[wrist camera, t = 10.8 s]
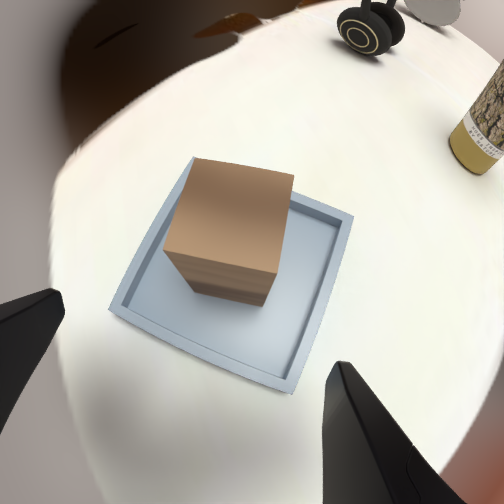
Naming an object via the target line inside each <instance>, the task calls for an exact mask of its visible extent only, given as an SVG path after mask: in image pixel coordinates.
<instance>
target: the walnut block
mask: <svg viewBox="0 0 504 504" xmlns="http://www.w3.org/2000/svg"><path fill="white" fill-rule="evenodd" d="M293 180H294V175H292V174H287V173H282V172H277V171H272V170H267V169H261V168H256V167H250V166H244V165H239V164H233V163H226V162H220V161H214V160H207V159H200V158H195V159H194V161H193V164H192V166H191V169H190V172H189V174H188V177H187V180H186V182H185V185H184V188H183V190H182V193H181V196H180V199H179V202H178V205H177V207H176V210H175V213H174V216H173V219H172V222H171V225H170V228H169V231H168V234H167V237H166V240H165V243H164V247H163V251H164V252H165V254H166V255H167V256H168V258H169V259H170V261H171V262H172V263H173V265H174V266H175V267H176V269H177V270H178V271H179V273H180V274H181V275H182V277H183V278H184V279H185V281H186V282H187V283H188V284H189V286H190V287H191V288H192V290H193V291H194V292H195V293H199V294H204V295H208V296H212V297H217V298H221V299H226V300H231V301H235V302H240V303H245V304H250V305H255V306H260V307H263V305H264V303H265V301H266V299H267V296H268V294H269V292H270V289H271V287H272V285H273V283H274V280H275V278H276V276H277V273H278V268H279V262H280V257H281V251H282V245H283V240H284V234H285V228H286V222H287V216H288V211H289V205H290V198H291V192H292V186H293Z"/></svg>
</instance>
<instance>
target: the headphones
mask: <svg viewBox="0 0 504 504" xmlns="http://www.w3.org/2000/svg"><path fill="white" fill-rule="evenodd" d="M395 3H396V0H388V1H387V3H386V4H384V3H381V2H371V0H362V2H361V7H352V8H348V9H346V10H344V11H343V12H342V13H341V14H340V15H339V17H338V19H337V27H338V31H339V33H340V35H341V37H342V38H343V39H344V41H345V42H346V43H347V44H348V45H349V46H350V47H352V48H353V49H355V50H356V51H358V52H361V53H363V54H366V55H371V56H377V55H381V54H383V53H385V52H386V51H387V50H388V49H389V48H390V47H391V46H394V45H396V44H398V43H399V42H400V41H401V40H402V38H403V36H404V33H405V24H404V21H403V19H402V17H401V15H400V14H399V13H398V12H397V11H396V10H395V9H394V5H395Z"/></svg>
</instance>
